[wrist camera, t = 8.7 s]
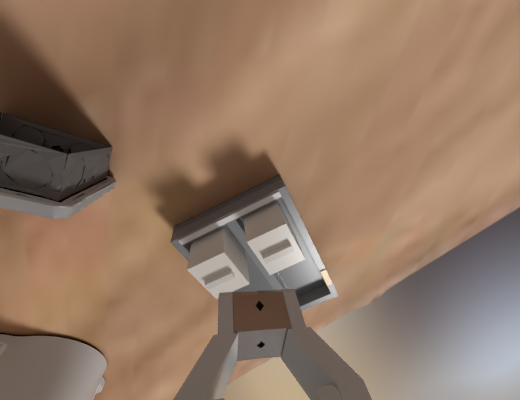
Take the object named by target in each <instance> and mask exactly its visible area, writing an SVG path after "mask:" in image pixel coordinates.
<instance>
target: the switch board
mask: <svg viewBox="0 0 520 400" xmlns="http://www.w3.org/2000/svg"><path fill="white" fill-rule="evenodd" d="M276 200H277V201H278V202H279V204H280V206H281V208H282V210H283V212H284V214H285V216H286V218H287V219H288V221H289V223H290V225H291V227H292V229H293V231H294V233H295V236H296V238H297V240H298V243H299V245H300V248H301V250H302V252H303V255H304V257H305V260H303V261H301V262H299V263H296V264H294V265H292V266H290V267H287V268H285V269H283V270H281V271H278V272H276V273H274V274H272V275H269V273H268V272H267V270H266V269H265V268H264V266H263V265H262V263H261V262H260V260H259V259H258V258H257V256H256V255H255V253H254V252H253V251H252V249H251V248H250V246H249V245H248V243H247V242H246V235H245V228H244V221H243V216H245V215H247V214H249V213H251V212H253V211H255V210H257V209H259V208H261V207H263V206H266V205H268V204H270V203H272V202H274V201H276ZM224 225H226V226H227V227H228V229H229V230H230V232H231V233H232V234H233V236H234V237H235V238H236V240H237V241H238V242H239V244H240V245H241V247H242V248H243V249H244V251H245V252H246V259H247V266H248V274H249V282H250V284H249V285H246V286H244V287H242V288H240V289H238V290H235V291H233V292H250V291H260V290H274V289H294V290H295V293H296V296H297V299H298V302H299V306H300V309H301V311H302V310H305V309H307V308H310V307H312V306H314V305H317V304H319V303H321V302H324V301H326V300H329V299H331V298H333V297H336V296H338V294H337V292H336V290H335V287H334V285H333V283H332V281H331V279H330V277H329V275H328V273H327V271H326V269H325V267H324V265H323V263H322V261H321V259H320V256H319V254H318V252H317V250H316V248H315V246H314V244H313V242H312V240H311V238H310V236H309V234H308V232H307V230H306V228H305V226H304V223H303V221H302V219H301V217H300V215H299V213H298V211H297V209H296V207H295V205H294V203H293V201H292V199H291V197H290V195H289V192H288V190H287V188H286V186H285V184H284V182H283V180H282V178H281V176H280V175H278V176H276V177H273V178H271V179H269V180H267V181H265V182H263V183H261V184H259V185H257V186H255V187H253V188H251V189H249V190H247V191H245V192H243V193H241V194H239V195H237V196H235V197H233V198H231V199H229V200H227V201H225V202H223V203H221V204H219V205H217V206H215V207H213V208H211V209H209V210H207V211H205V212H203V213H201V214H199V215H197V216H195V217H193V218H191V219H189V220H187V221H185V222H183V223H181V224H179V225H177V226H175V227H174V231H173V234H172V238H171V243H172V244H173V245H174V246H175V248H176V249H177V250H178V251H179V252H180V253H181V254H182V255H183V256H184V257H185V258H186V259H187V260H188V261H189V254H190V248H191V241H193V240H195V239H197V238H200V237H202V236H204V235H206V234H208V233H210V232H212V231H214V230H216V229H218V228H220V227H222V226H224Z"/></svg>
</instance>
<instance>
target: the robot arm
mask: <svg viewBox="0 0 520 400" xmlns="http://www.w3.org/2000/svg"><path fill="white" fill-rule="evenodd" d="M271 357H281V359H282V360H283V362H284V363H285V364H286V366H287V367H288V369H289V370H290V371H291V373H292V374H293V376H294V377H295V378H296V380H297V381H298V382H299V384H300V385H301V387H302V388H303V390H304V391H305V393H306V394H307V395H308V397H309V398H310V400H372V399H371V397H370V394H369V392H368V390H367V387H366V385H365V383H364V381H363V379H362V378H361V377H360V376H359V375H358V374H357V373H355V371H354V370H353V369H352V368H351V367H350V366H349V365H348V364H347V363H346V362H345V361H343V359H342V358H341V357H340V356H339V355H338V354H337V353H336V352H334V350H332V348H331V347H329V345H328V344H327V343H325V341H324V340H322V339H321V337H319V335H317V334H316V333H315V332H314V331H313V330H312V329H311V328H310V327H306V325H305V322H304V318H303V315H302V312H301V309H300V306H299V302H298V299H297V296H296V293H295V290H294V289H274V290H260V291H250V292H223V293H219V307H218V334H217V335H214V336H213V337H212V339H211V340H210V342H209V344H208V345H207V347H206V348H205V350H204V352H203V353H202V355H201V356H200V358H199V359H198V361H197V363H196V364H195V366H194V367H193V369H192V371H191V372H190V374H189V375H188V377H187V379H186V380H185V382H184V383H183V385H182V387H181V388H180V390H179V391H178V393H177V395H176V396H175V398H174V399H173V400H224V399H223V398H221V397H222V395H223V393H224V390H225V388H226V386H227V384H228V382H229V379H230V377H231V375H232V373H233V370H234V368H235V366H236V364H237V361H242V360H250V359H258V358H271ZM106 367H107V363H106V360H105V358H104V356H103V355H102V354H101V353H100V352H98V351H97V350H96V349H94V348H92V347H91V346H89V345H86V344H84V343H81V342H78V341H75V340H71V339H66V338H61V337H53V336H10V335H3V334H0V400H93V398H94V396H95V394H96V393H99V392H101V391H102V389H103V387H104V385H105V380H104V378H103V374H104V372H105V370H106Z"/></svg>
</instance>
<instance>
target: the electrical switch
mask: <svg viewBox="0 0 520 400" xmlns="http://www.w3.org/2000/svg"><path fill="white" fill-rule="evenodd" d="M1 115H2V112H0V126H1V127H0V207H1V208H5V209H10V210H15V211H19V212H24V213H29V214H33V215H38V216H43V217H48V218H52V219H58V218H70V217H71V216H73V215H74V214H76V213H77V212H79V211H80V210H82V209H83V208H85V207H86V206H88V205H89V204H91V203H92V202H94V201H95V200H97V199H98V198H100V197H101V196H103V195H104V194H106V193H107V192H109V191H111V190H112V189H114V186H115V182H116V180H115V178H113V177H110V176H107V172H108V169H109V159H110V155H111V151H112V147H110V146H107V145H104V144H101V143H97V142H94V141H91V140H88V139H84V138H81V137H78V136H75V135H71V134H68V133H65V132H62V131H59V130H55V129H52V128H49V127H46V126H42V125H39V124H36V123H33V122H29V121H26V120H23V119H20V118H16V117H13V116H10V115H7V114H3V117H2V122H1ZM26 126H27V127H26ZM37 130H38V131H37ZM39 131H40V132H42V134H41V133H40V132H39ZM13 133H14V137H13V135H12V134H13ZM44 138H45V140H46V142H44ZM81 142H83V143H81ZM43 143H44V147H43ZM53 146H59V147H61V148H62V149H63V152H60V151H56V150H53V149H52V148H53ZM71 147H72V148H71ZM70 148H71V149H70ZM69 149H70V154H69V153H68V152H69Z"/></svg>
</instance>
